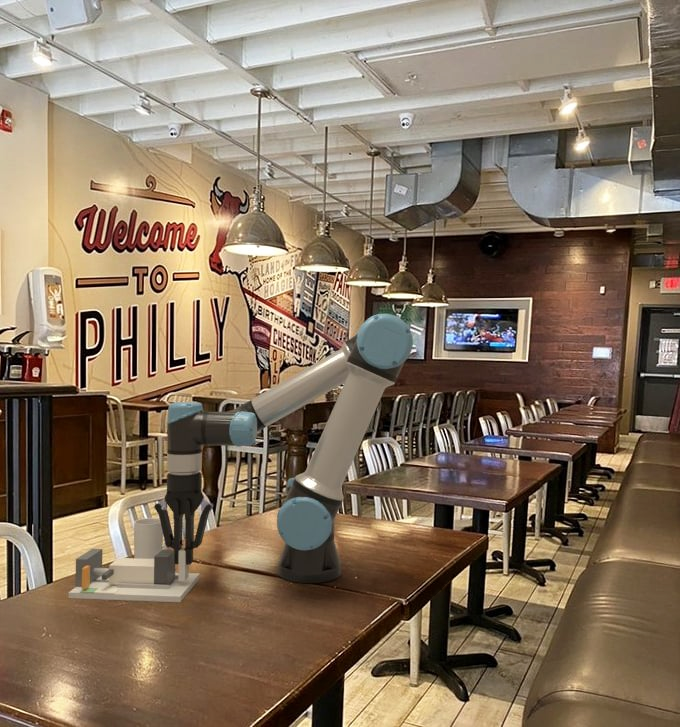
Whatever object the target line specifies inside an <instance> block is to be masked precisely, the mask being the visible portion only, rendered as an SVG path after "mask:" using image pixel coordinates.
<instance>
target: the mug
mask: <svg viewBox="0 0 680 727" xmlns="http://www.w3.org/2000/svg"><path fill="white" fill-rule="evenodd" d="M133 527H134V528H133V548H134V549H133V558H138V559H154V556H156V555H157V554H158V553H159V552H160V551H162V550H169V547H167V546H166V544H165V542H164V541H163V540H164V535H163V531H162V526H161V522H160V518H159V517H158V518H157V517H146V518H140V519H136V520H135V521H134V522H133ZM163 543H164V544H163Z"/></svg>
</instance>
